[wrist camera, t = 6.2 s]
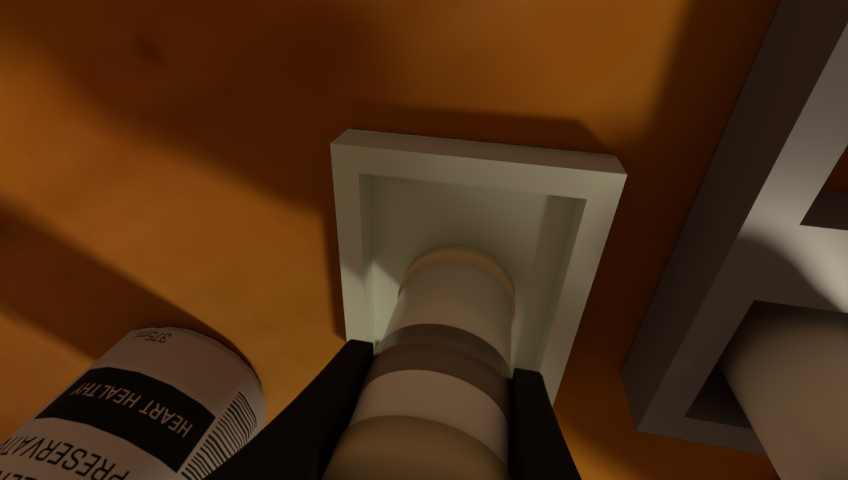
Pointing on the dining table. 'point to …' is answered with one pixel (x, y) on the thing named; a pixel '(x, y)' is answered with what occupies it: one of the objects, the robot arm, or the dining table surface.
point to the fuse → (793, 386)
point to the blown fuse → (437, 377)
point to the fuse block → (752, 230)
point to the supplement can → (143, 414)
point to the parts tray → (474, 228)
